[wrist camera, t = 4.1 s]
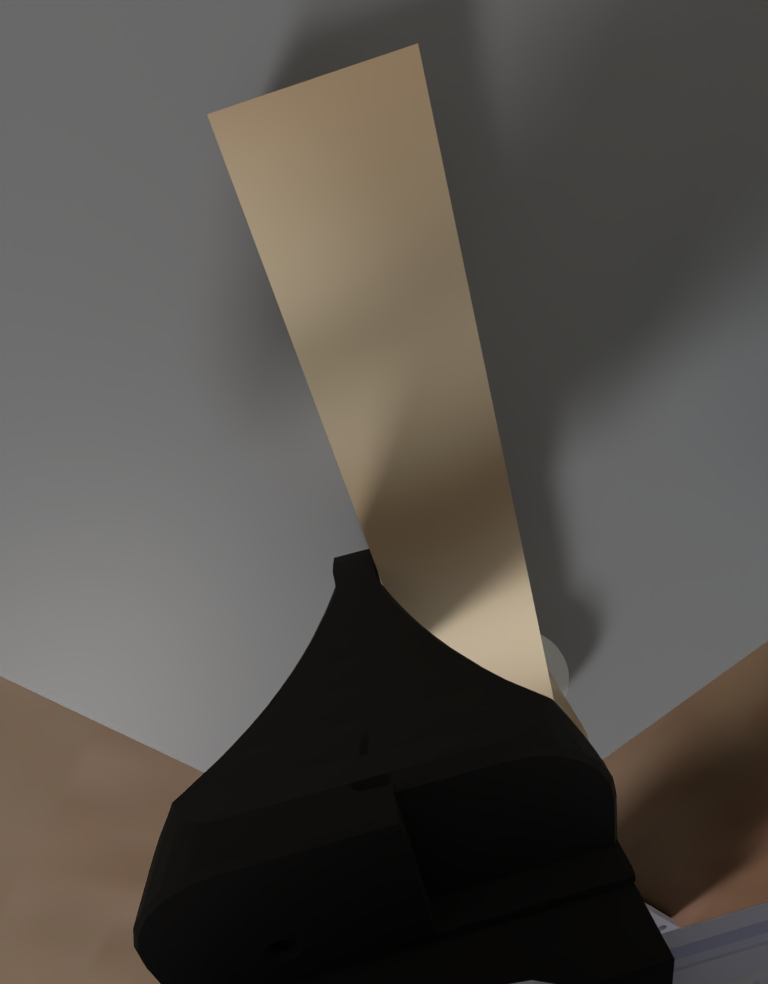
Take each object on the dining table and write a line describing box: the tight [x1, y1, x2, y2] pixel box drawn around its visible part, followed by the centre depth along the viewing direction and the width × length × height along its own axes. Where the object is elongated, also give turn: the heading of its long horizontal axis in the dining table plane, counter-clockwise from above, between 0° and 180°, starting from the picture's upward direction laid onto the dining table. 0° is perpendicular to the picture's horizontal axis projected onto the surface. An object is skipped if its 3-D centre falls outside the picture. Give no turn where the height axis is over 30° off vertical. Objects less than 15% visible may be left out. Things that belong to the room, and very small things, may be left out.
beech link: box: [207, 43, 589, 741], centre depth 11 cm, size 17×4×3 cm, turn 17°
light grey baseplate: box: [0, 0, 768, 773], centre depth 12 cm, size 24×25×1 cm
